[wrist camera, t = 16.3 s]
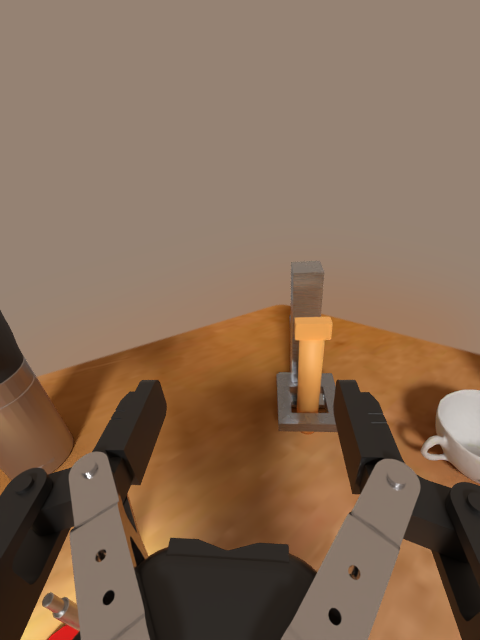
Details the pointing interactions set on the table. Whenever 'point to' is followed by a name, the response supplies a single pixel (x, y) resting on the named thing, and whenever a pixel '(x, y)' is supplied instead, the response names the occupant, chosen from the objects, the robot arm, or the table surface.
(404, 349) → the table surface
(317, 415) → the scaffold post with crossbars
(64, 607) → the red handwheel with stem
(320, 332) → the wedge pin
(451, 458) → the teacup
